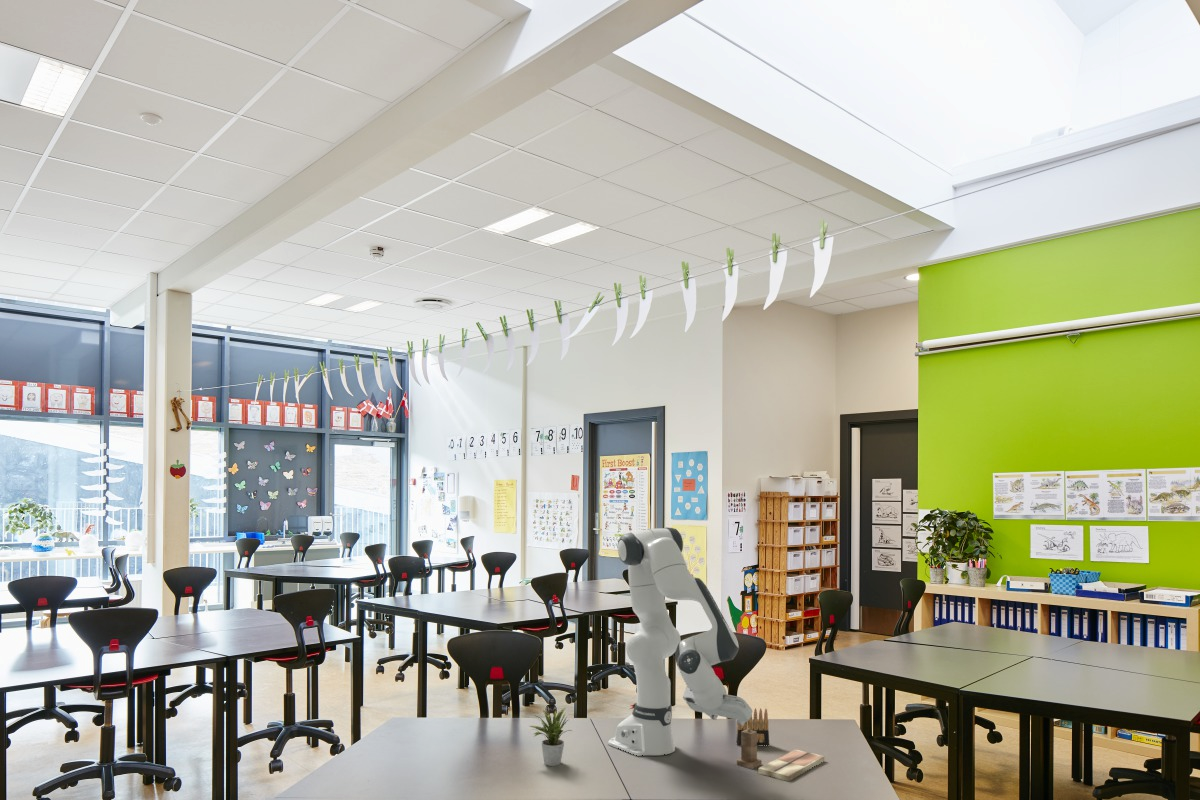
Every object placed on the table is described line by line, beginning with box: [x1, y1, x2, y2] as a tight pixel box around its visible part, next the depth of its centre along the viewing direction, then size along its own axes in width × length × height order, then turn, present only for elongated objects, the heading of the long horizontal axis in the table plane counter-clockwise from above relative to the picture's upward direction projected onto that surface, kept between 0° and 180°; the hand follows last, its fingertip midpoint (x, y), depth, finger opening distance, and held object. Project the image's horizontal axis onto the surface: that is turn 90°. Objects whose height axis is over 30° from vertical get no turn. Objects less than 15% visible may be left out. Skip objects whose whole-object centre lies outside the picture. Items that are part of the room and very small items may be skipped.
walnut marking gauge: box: [736, 727, 762, 770], centre depth 261 cm, size 6×6×11 cm
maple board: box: [757, 748, 825, 782], centre depth 259 cm, size 10×24×2 cm, turn 140°
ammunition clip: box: [736, 707, 770, 747], centre depth 281 cm, size 11×2×12 cm, turn 89°
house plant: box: [529, 707, 573, 767], centre depth 262 cm, size 14×14×16 cm
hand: (728, 720), depth 253 cm, fingers open, 8 cm apart
